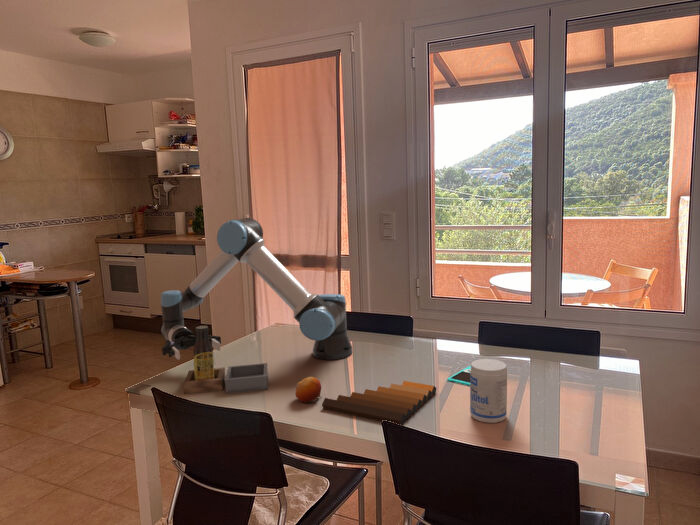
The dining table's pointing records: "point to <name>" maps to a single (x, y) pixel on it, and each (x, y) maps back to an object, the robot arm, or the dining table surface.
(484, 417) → the supplement tub
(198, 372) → the sauce bottle
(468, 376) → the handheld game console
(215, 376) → the walnut holder
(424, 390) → the brown ridged flat piece
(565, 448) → the dining table surface
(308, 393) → the fruit
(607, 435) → the dining table surface
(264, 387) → the grey square tray
